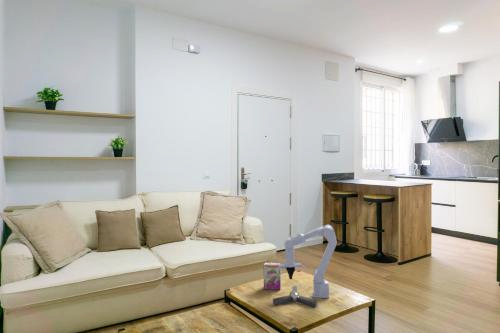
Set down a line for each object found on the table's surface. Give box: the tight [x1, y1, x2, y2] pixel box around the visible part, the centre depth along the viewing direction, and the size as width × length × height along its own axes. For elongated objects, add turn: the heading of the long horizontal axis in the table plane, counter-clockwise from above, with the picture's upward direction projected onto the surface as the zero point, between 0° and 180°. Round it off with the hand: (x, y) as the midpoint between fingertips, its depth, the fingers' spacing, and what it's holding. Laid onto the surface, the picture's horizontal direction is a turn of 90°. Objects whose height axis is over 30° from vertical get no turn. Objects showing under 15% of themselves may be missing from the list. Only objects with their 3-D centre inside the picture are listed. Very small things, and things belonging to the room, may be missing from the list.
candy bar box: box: [263, 262, 282, 291], centre depth 218 cm, size 11×5×16 cm, turn 78°
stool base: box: [272, 291, 318, 309], centre depth 196 cm, size 26×11×4 cm, turn 81°
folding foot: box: [291, 285, 298, 292], centre depth 207 cm, size 11×3×3 cm, turn 173°
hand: (290, 278), depth 209 cm, fingers closed
